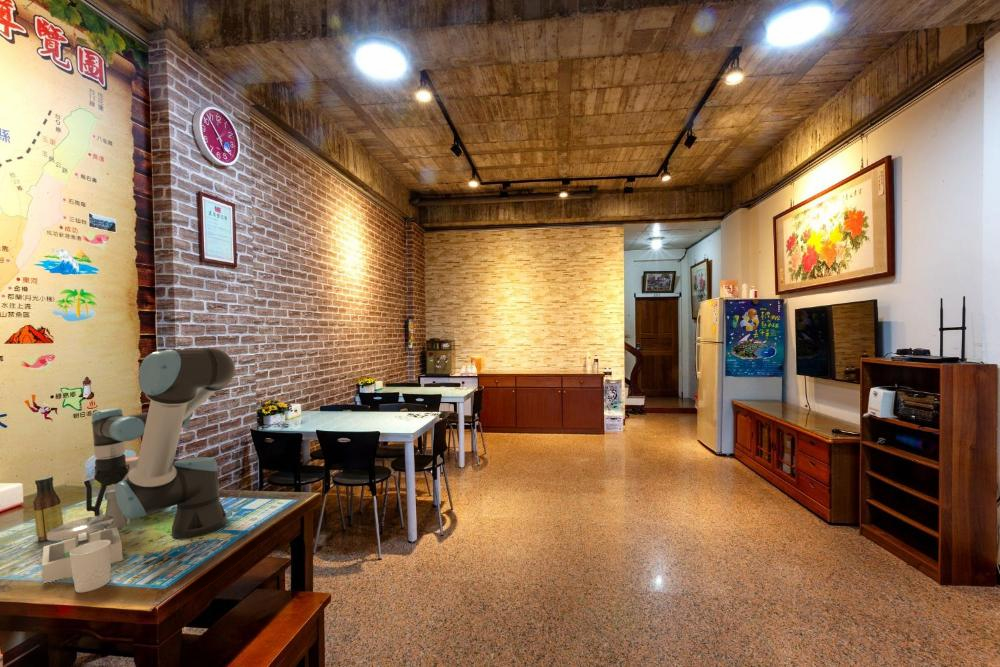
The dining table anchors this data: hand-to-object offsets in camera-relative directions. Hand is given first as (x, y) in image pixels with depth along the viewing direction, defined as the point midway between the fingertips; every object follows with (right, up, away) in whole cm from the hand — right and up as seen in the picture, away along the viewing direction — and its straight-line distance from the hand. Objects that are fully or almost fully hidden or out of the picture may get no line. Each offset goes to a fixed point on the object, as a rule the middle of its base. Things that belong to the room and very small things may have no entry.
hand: (115, 525), depth 146 cm
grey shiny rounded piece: (+8, +2, -20) cm, 21 cm away
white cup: (+21, -2, -31) cm, 38 cm away
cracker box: (-5, -3, +15) cm, 15 cm away
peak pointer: (+13, +6, -25) cm, 29 cm away
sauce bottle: (-21, -4, -1) cm, 21 cm away
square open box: (+7, -2, -18) cm, 20 cm away
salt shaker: (0, -2, 0) cm, 2 cm away
